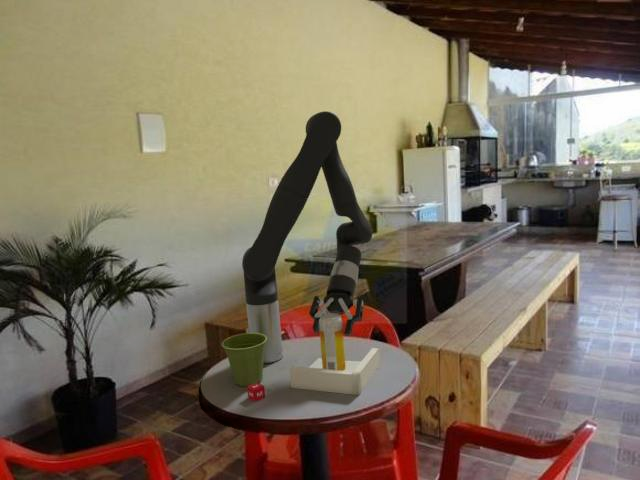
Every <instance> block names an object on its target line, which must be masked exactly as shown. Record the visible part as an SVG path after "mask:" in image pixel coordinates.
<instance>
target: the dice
mask: <svg viewBox="0 0 640 480" xmlns="http://www.w3.org/2000/svg"><path fill="white" fill-rule="evenodd" d="M246 389H247V398H248V399H249V400H251V401H253V402H258V401H260V400H263V399H265V398H266V391H265V385H263V384H262V383H260V382H258V383H255V384H253V385H250V386H246Z"/></svg>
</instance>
